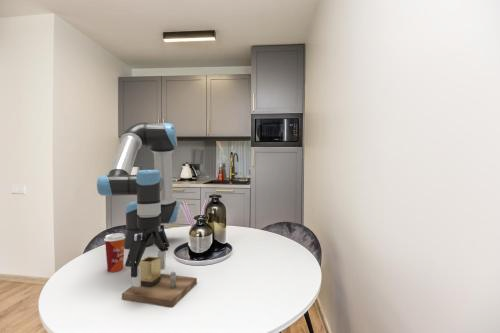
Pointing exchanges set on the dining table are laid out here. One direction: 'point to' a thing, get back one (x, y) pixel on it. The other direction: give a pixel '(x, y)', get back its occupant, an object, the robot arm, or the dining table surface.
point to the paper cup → (114, 251)
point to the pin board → (161, 290)
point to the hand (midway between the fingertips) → (149, 276)
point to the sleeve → (150, 271)
